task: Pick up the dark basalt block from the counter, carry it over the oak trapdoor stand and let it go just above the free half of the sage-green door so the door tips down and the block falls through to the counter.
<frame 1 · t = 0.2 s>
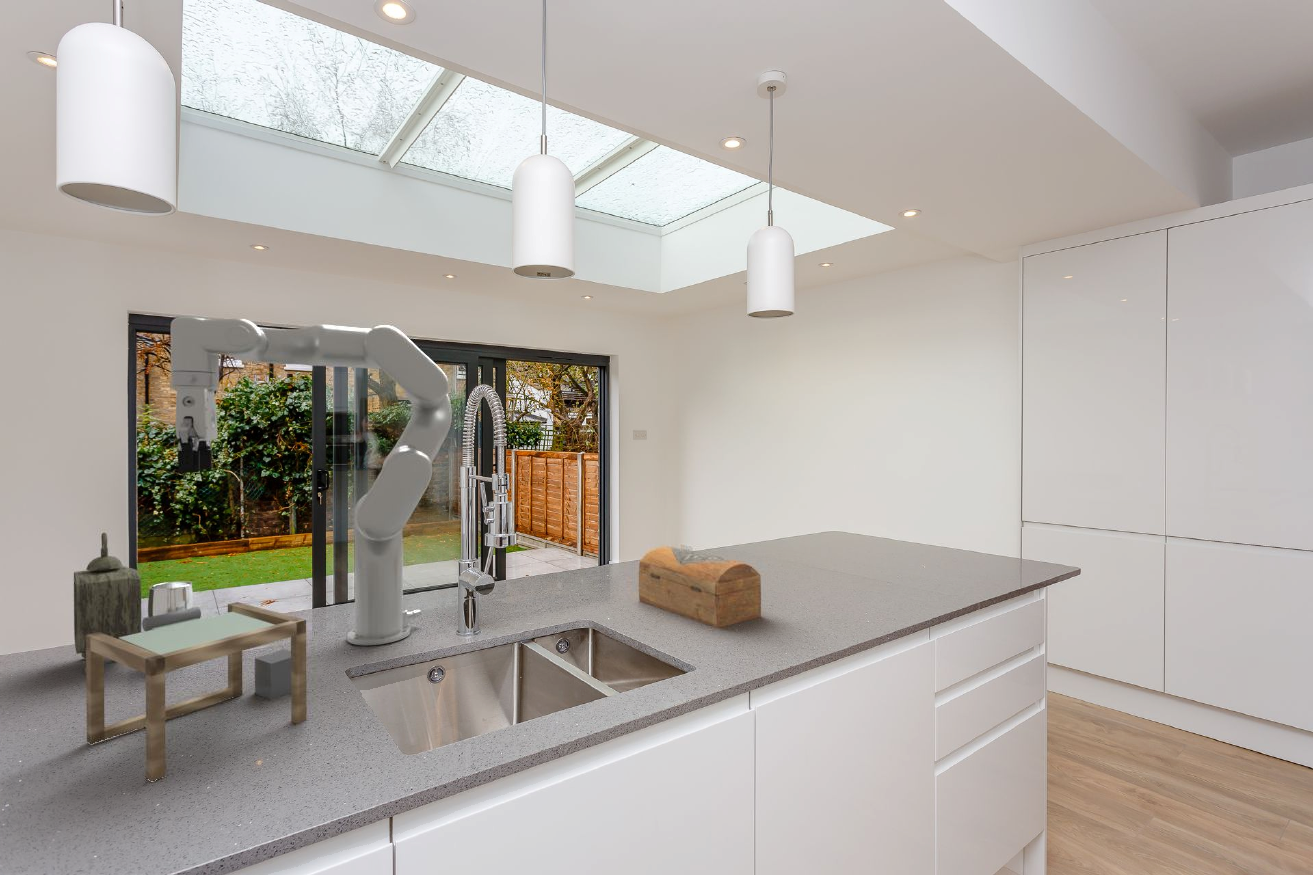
hand: (195, 470, 122), 37 cm above the worktop, tool pointing down, fingers open, 9 cm apart
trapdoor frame: (201, 730, 93), on the worktop
tabletop clock: (107, 663, 121), on the worktop
stone: (278, 690, 108), on the worktop
trapdoor: (196, 628, 94), point 15 cm above the worktop, hinge at -1.0°
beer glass: (171, 663, 121), on the worktop
wooden box: (698, 609, 159), on the worktop
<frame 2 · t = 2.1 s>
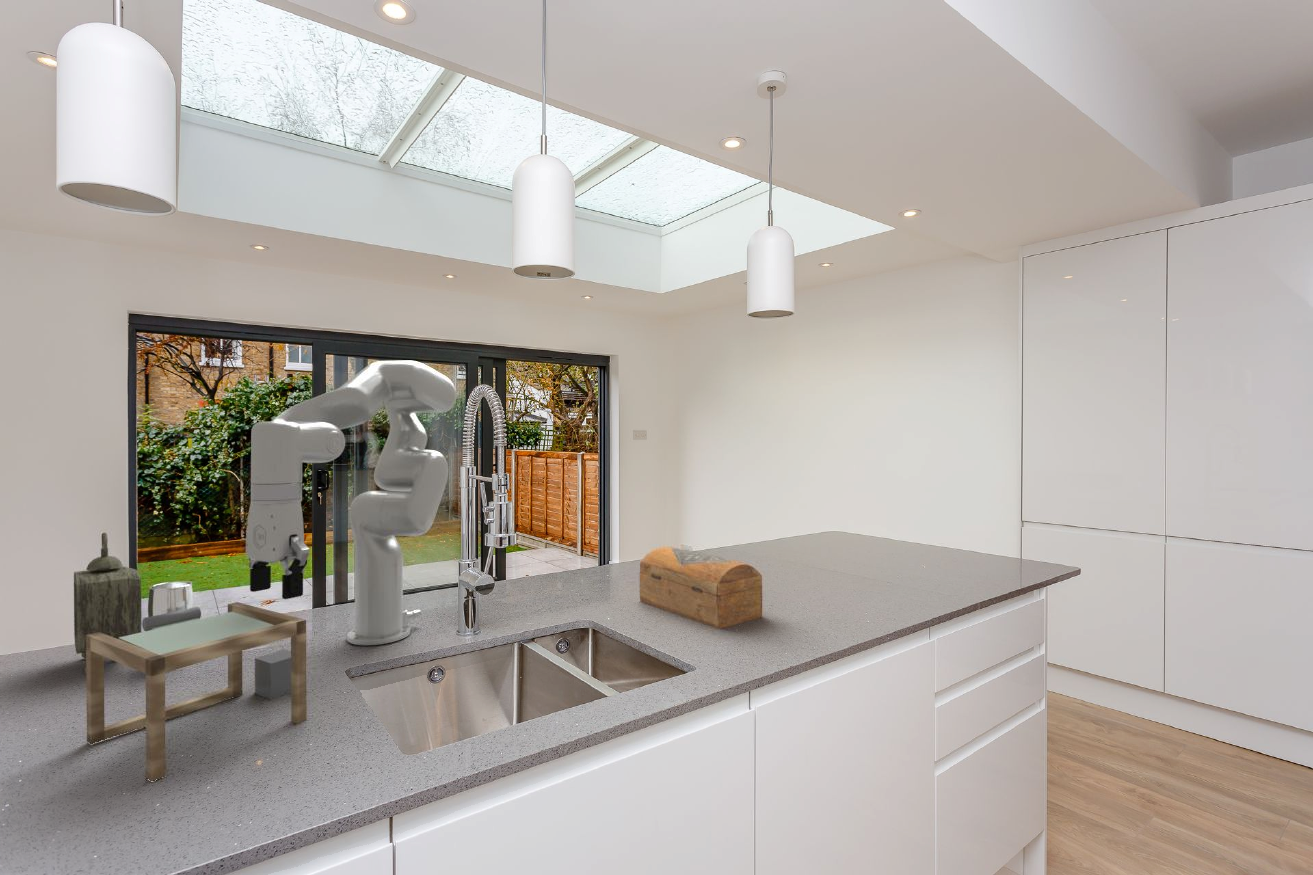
hand: (276, 593, 107), 17 cm above the worktop, tool pointing down, fingers open, 9 cm apart
trapdoor: (196, 628, 94), point 15 cm above the worktop, hinge at -1.4°
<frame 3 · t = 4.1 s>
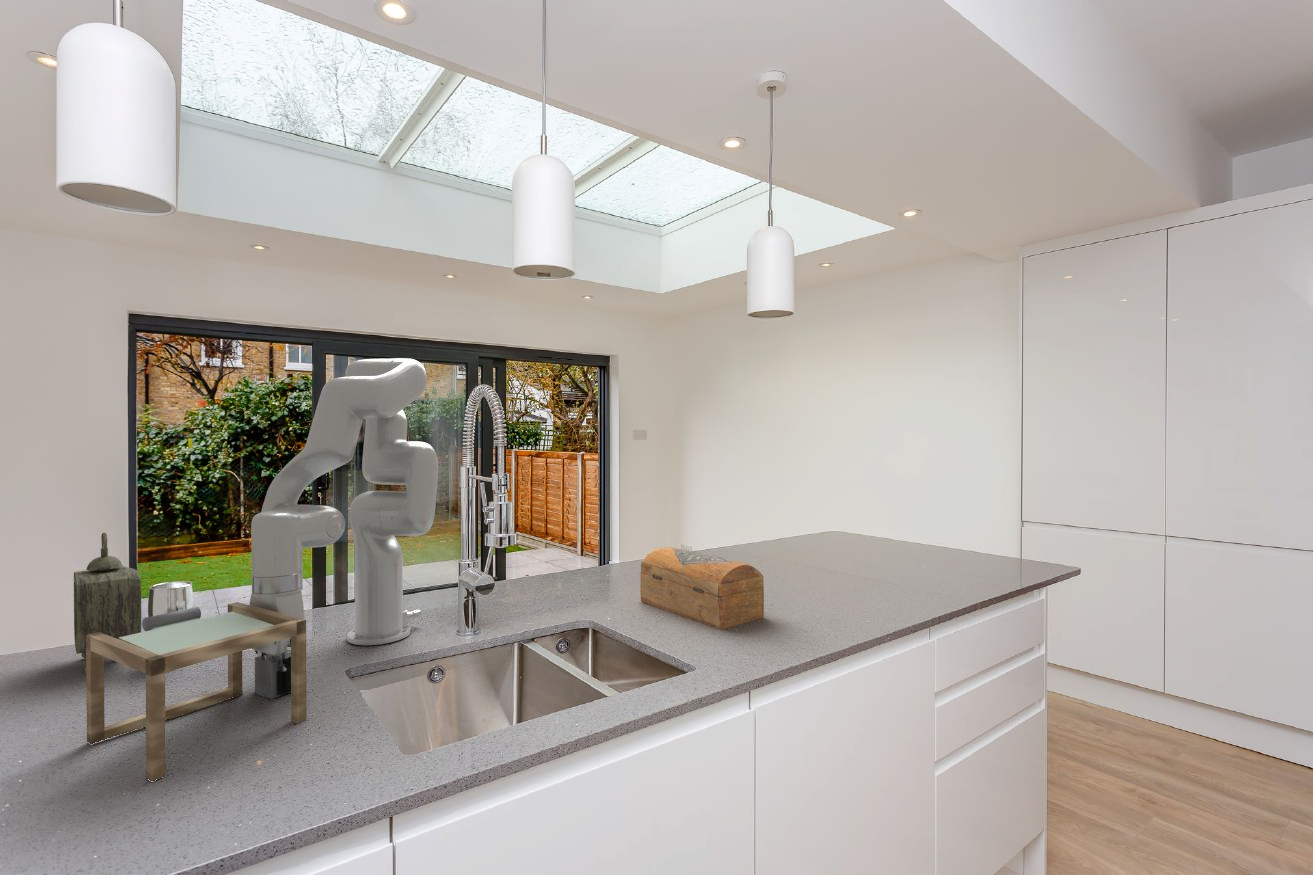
hand: (278, 687, 108), 0 cm above the worktop, tool pointing down, fingers closed on stone, 5 cm apart
stone: (278, 690, 108), on the worktop, touching gripper
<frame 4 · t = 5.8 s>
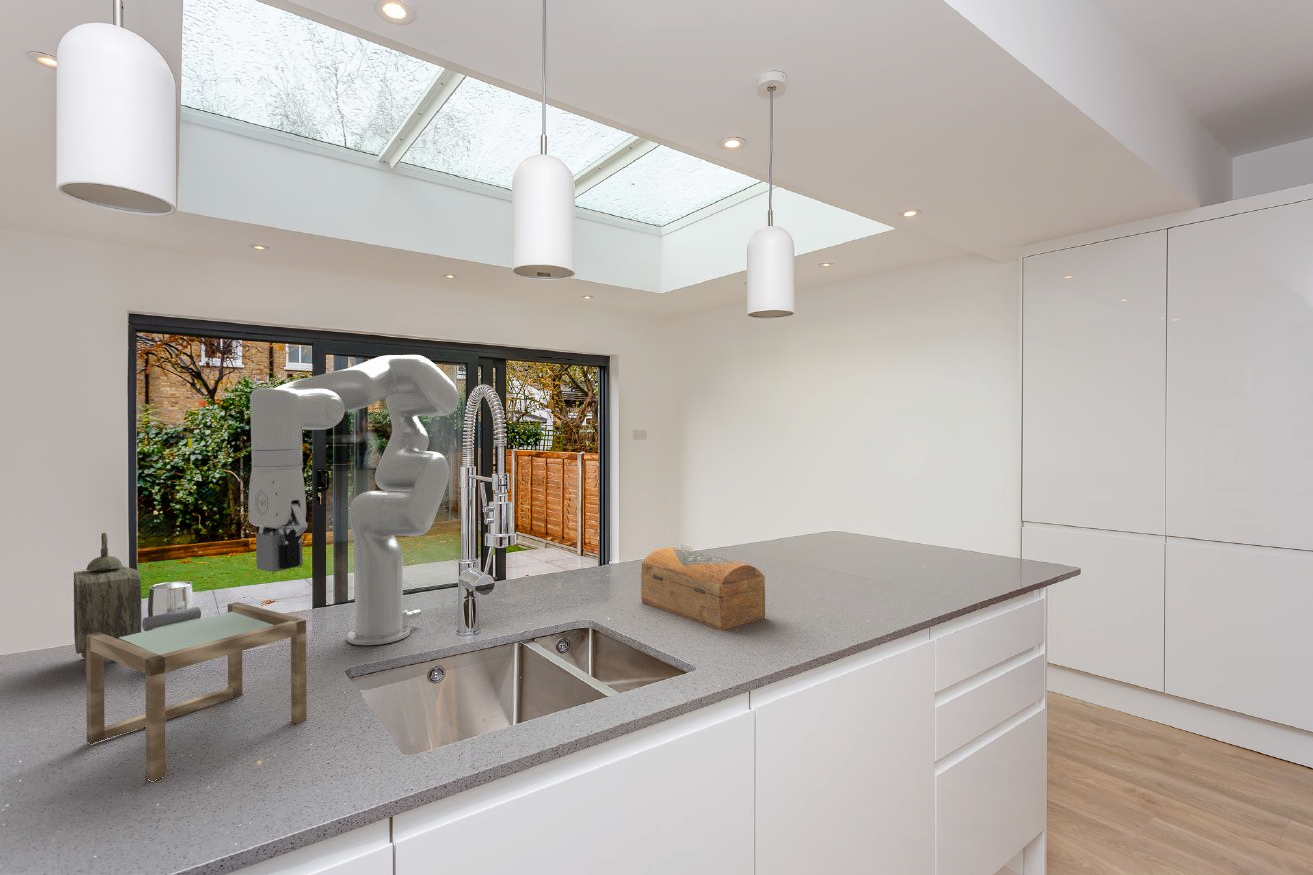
hand: (280, 564, 108), 22 cm above the worktop, tool pointing down, fingers closed on stone, 5 cm apart
stone: (279, 567, 108), point 21 cm above the worktop, touching gripper
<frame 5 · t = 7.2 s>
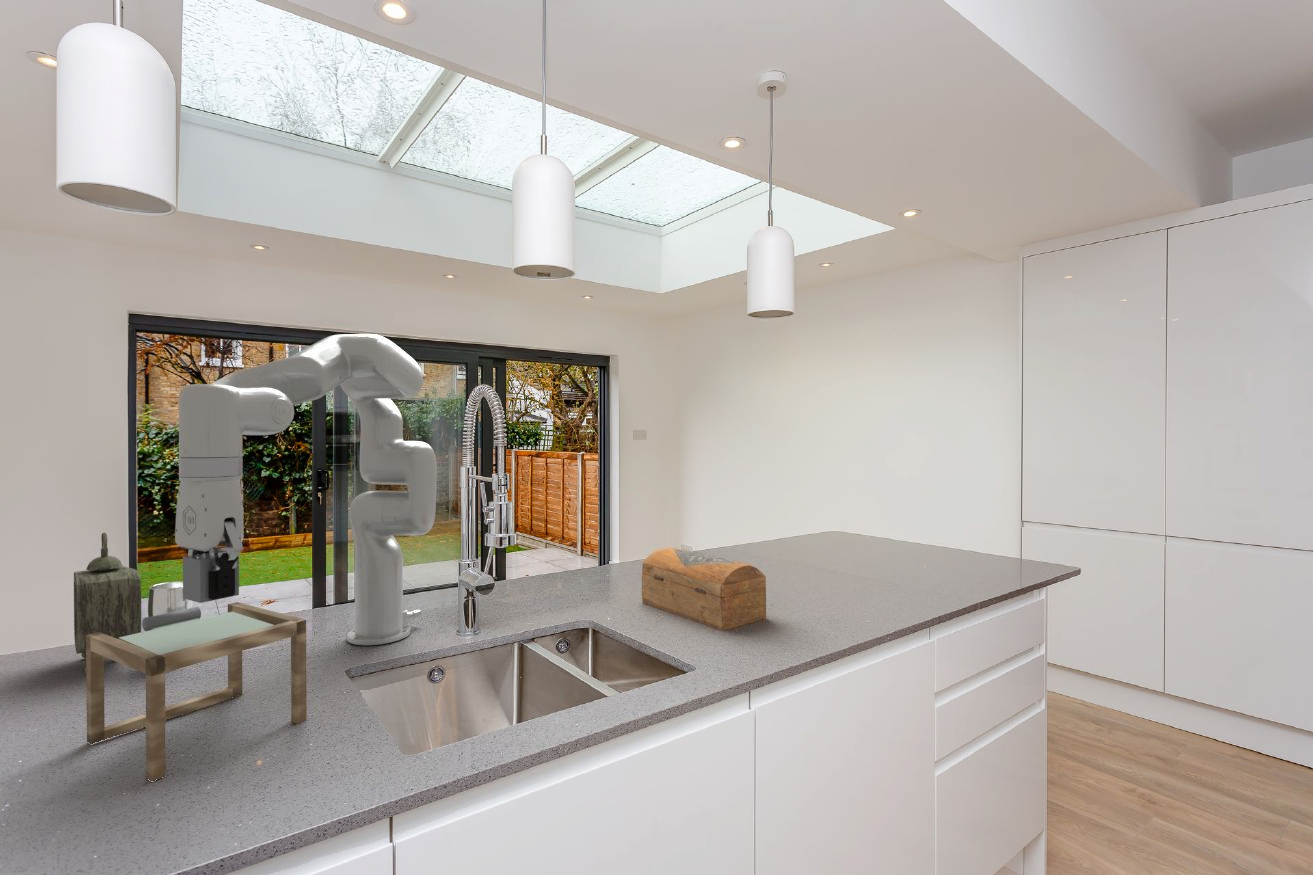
hand: (211, 593, 91), 21 cm above the worktop, tool pointing down, fingers closed on stone, 5 cm apart
stone: (211, 596, 91), point 21 cm above the worktop, touching gripper
when the fingers open (18 cm above the worktop, at t = 7.8 s): stone drops 15 cm and tips over, point 2 cm above the worktop.
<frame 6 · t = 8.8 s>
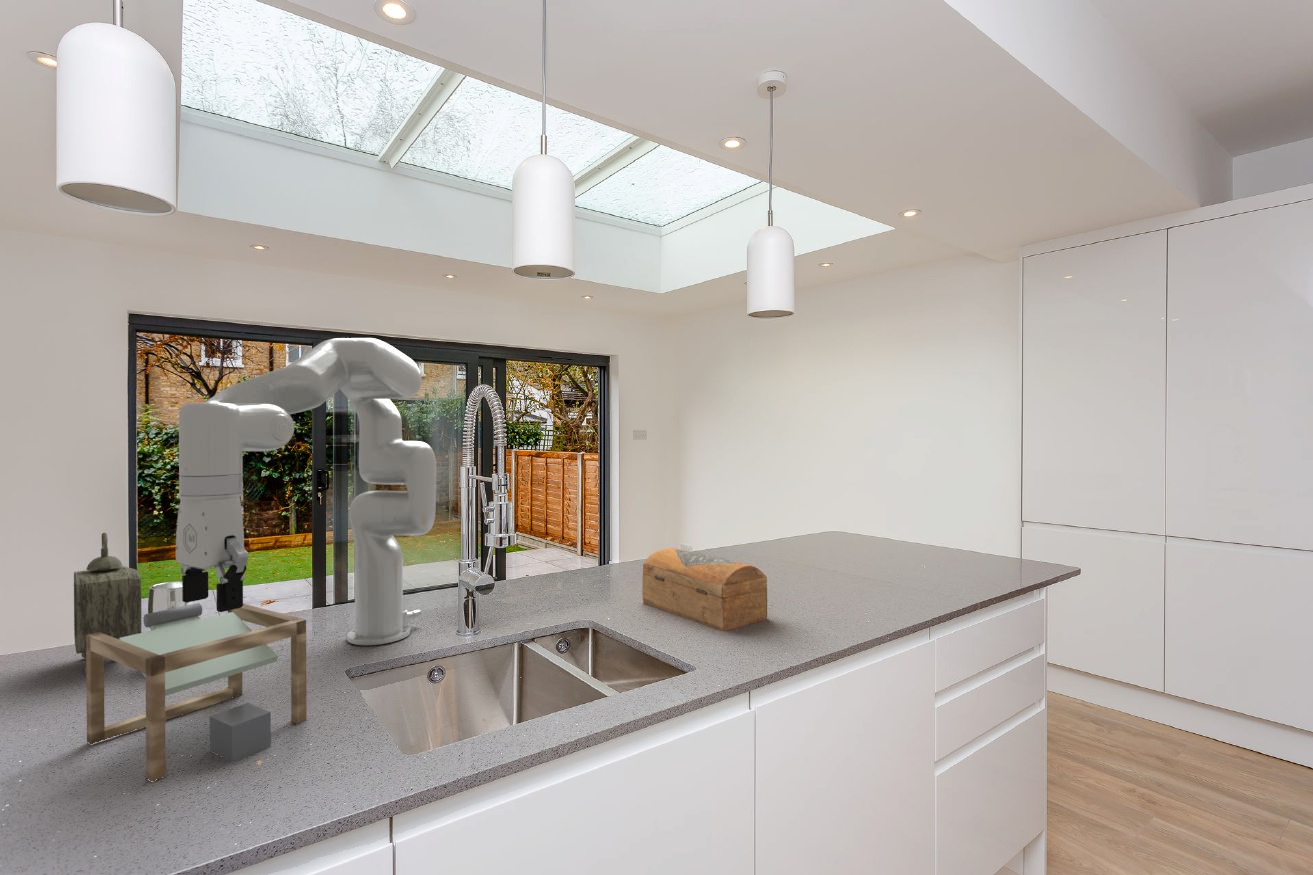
hand: (212, 604, 91), 19 cm above the worktop, tool pointing down, fingers open, 9 cm apart
stone: (229, 726, 90), point 2 cm above the worktop, tilted 90°
trapdoor: (196, 640, 94), point 13 cm above the worktop, hinge at -20.1°
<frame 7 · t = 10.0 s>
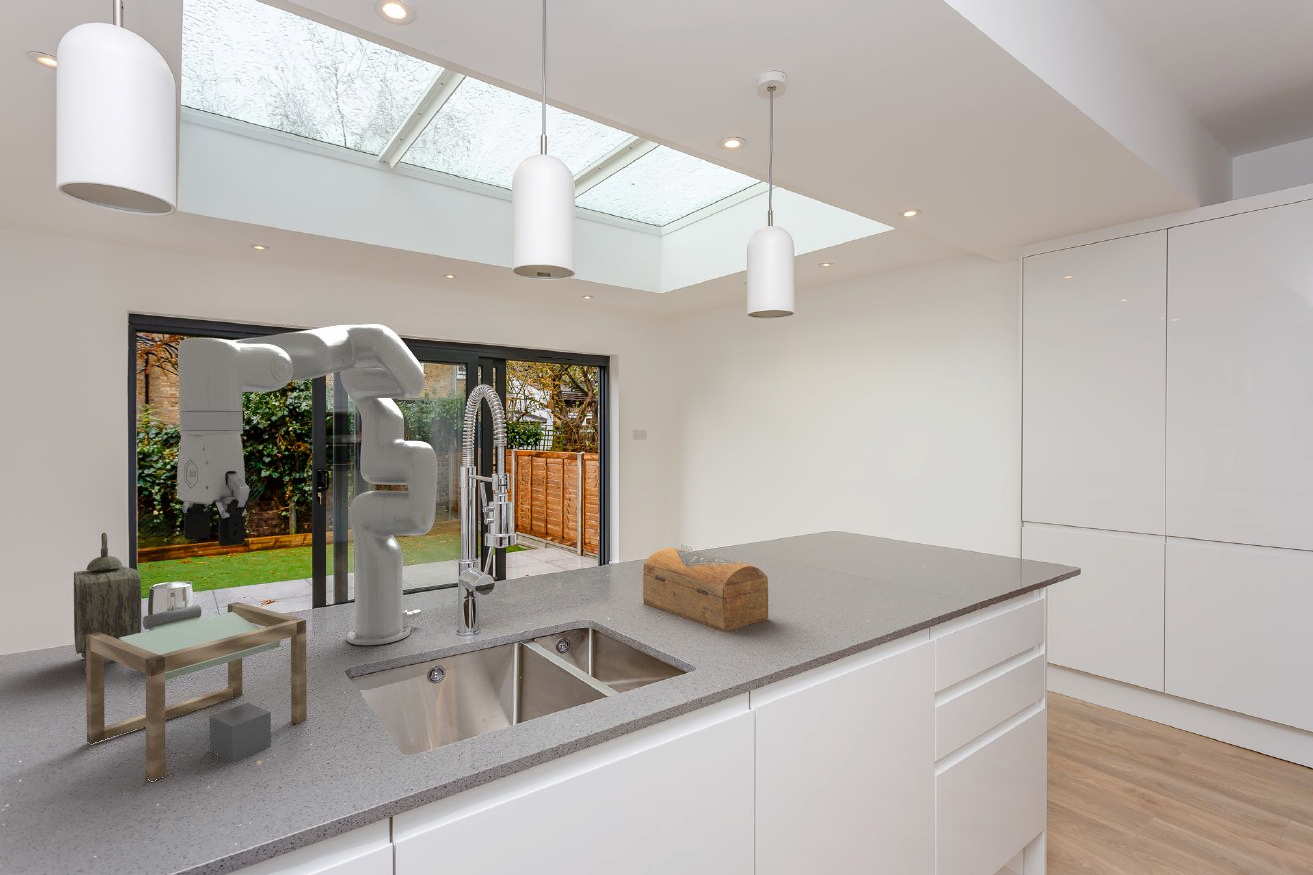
hand: (214, 541, 92), 28 cm above the worktop, tool pointing down, fingers open, 9 cm apart
trapdoor: (196, 634, 94), point 14 cm above the worktop, hinge at -10.1°
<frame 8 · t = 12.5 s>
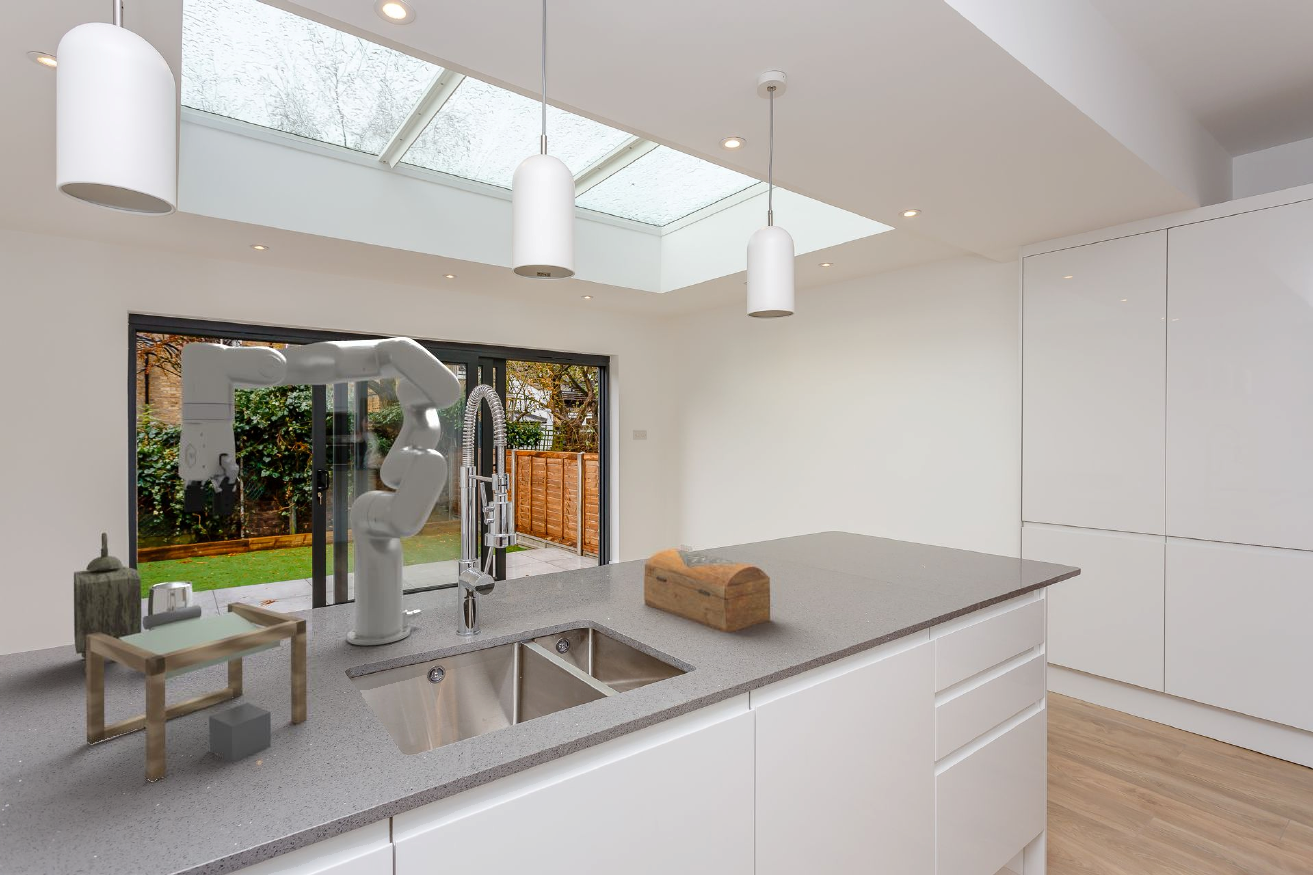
hand: (209, 513, 109), 30 cm above the worktop, tool pointing down, fingers open, 9 cm apart
trapdoor: (196, 633, 94), point 14 cm above the worktop, hinge at -9.5°
at the end: stone point 2.4 cm above the worktop; stone 7.5 cm from the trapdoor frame (horizontally); the gripper is holding nothing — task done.
